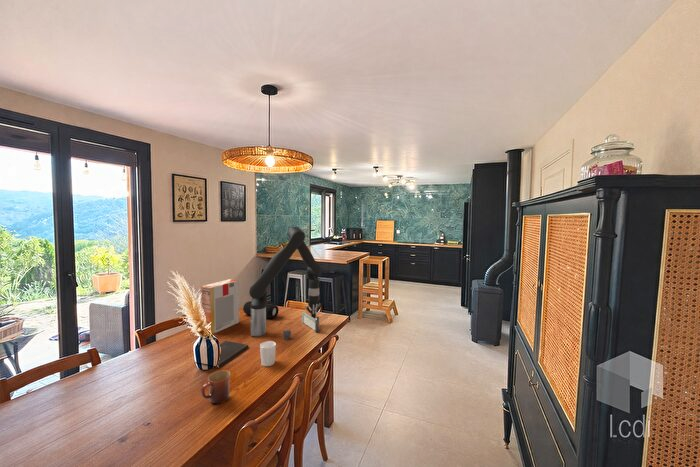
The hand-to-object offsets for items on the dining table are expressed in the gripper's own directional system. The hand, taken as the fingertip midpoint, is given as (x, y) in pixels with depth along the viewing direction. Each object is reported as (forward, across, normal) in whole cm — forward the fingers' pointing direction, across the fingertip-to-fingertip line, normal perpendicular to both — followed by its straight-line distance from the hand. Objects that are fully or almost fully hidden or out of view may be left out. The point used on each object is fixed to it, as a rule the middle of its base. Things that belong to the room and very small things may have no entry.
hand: (313, 318), depth 201 cm
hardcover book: (+5, -62, -10) cm, 63 cm away
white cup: (+5, -45, -32) cm, 55 cm away
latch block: (+4, -24, -10) cm, 27 cm away
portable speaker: (+5, -24, +36) cm, 44 cm away
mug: (+5, -73, -49) cm, 88 cm away
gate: (+4, -4, -2) cm, 6 cm away
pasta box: (+5, -53, +30) cm, 62 cm away
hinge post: (+4, -4, -13) cm, 14 cm away
